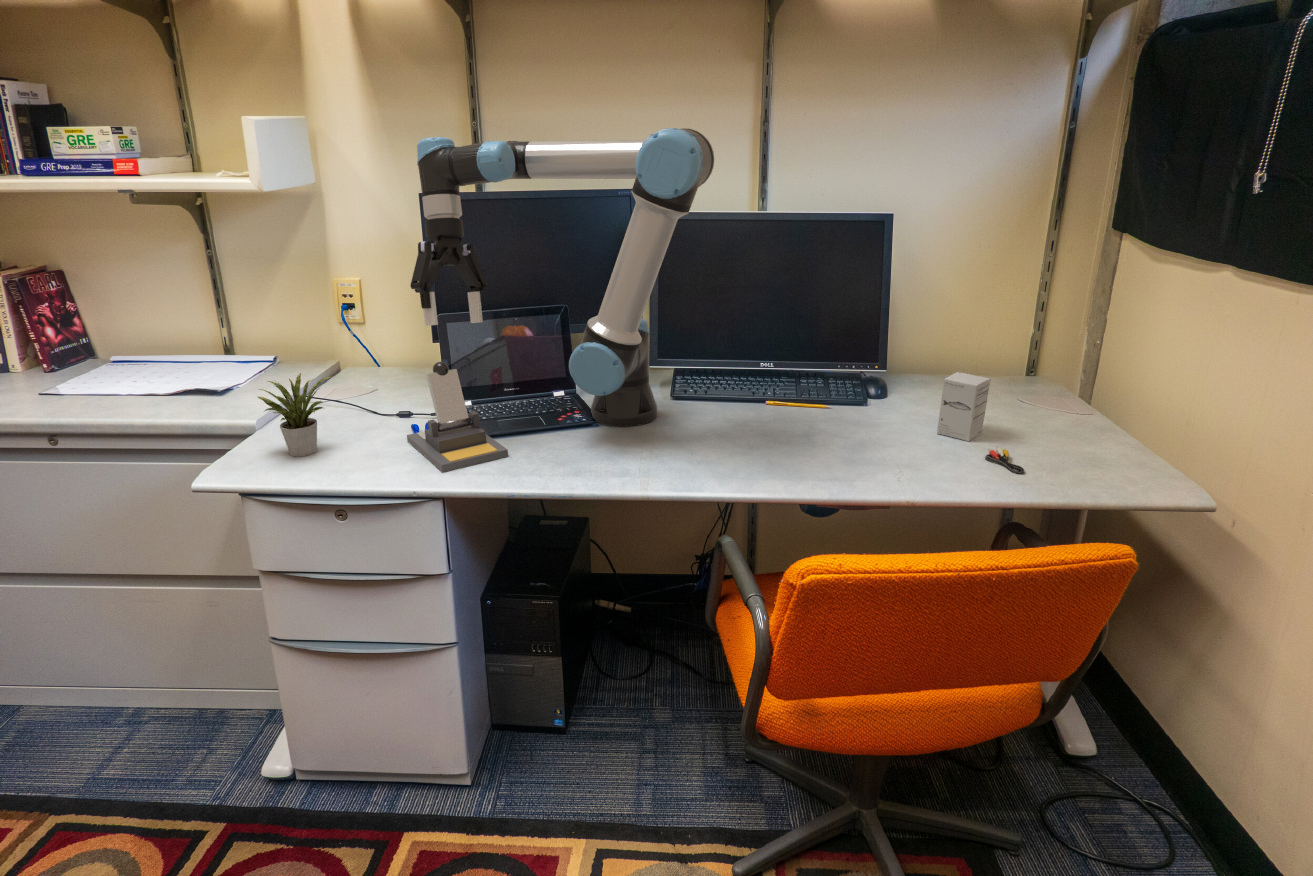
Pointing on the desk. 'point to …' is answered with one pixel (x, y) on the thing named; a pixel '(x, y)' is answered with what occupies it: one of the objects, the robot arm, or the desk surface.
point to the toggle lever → (447, 398)
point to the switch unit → (457, 445)
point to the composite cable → (1003, 460)
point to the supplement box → (963, 406)
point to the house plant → (297, 417)
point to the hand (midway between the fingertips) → (455, 324)
